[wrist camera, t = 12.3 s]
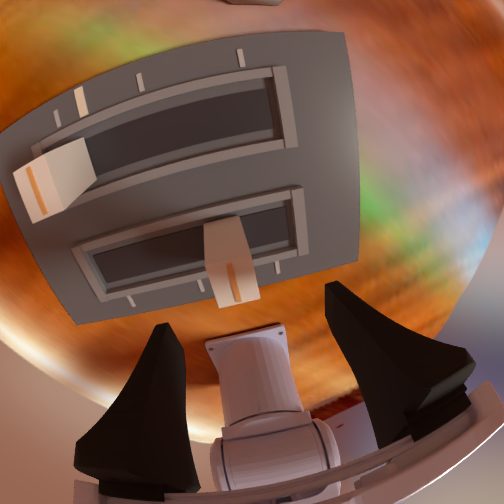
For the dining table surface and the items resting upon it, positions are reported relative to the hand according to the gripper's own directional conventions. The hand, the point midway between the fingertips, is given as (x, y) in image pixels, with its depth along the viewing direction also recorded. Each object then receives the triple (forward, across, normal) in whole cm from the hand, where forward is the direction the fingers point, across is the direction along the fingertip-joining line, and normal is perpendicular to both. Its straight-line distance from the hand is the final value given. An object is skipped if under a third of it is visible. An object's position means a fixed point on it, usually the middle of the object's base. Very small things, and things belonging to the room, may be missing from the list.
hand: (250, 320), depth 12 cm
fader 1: (+8, +9, -8) cm, 14 cm away
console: (+9, +3, -4) cm, 11 cm away
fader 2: (+8, 0, 0) cm, 8 cm away
